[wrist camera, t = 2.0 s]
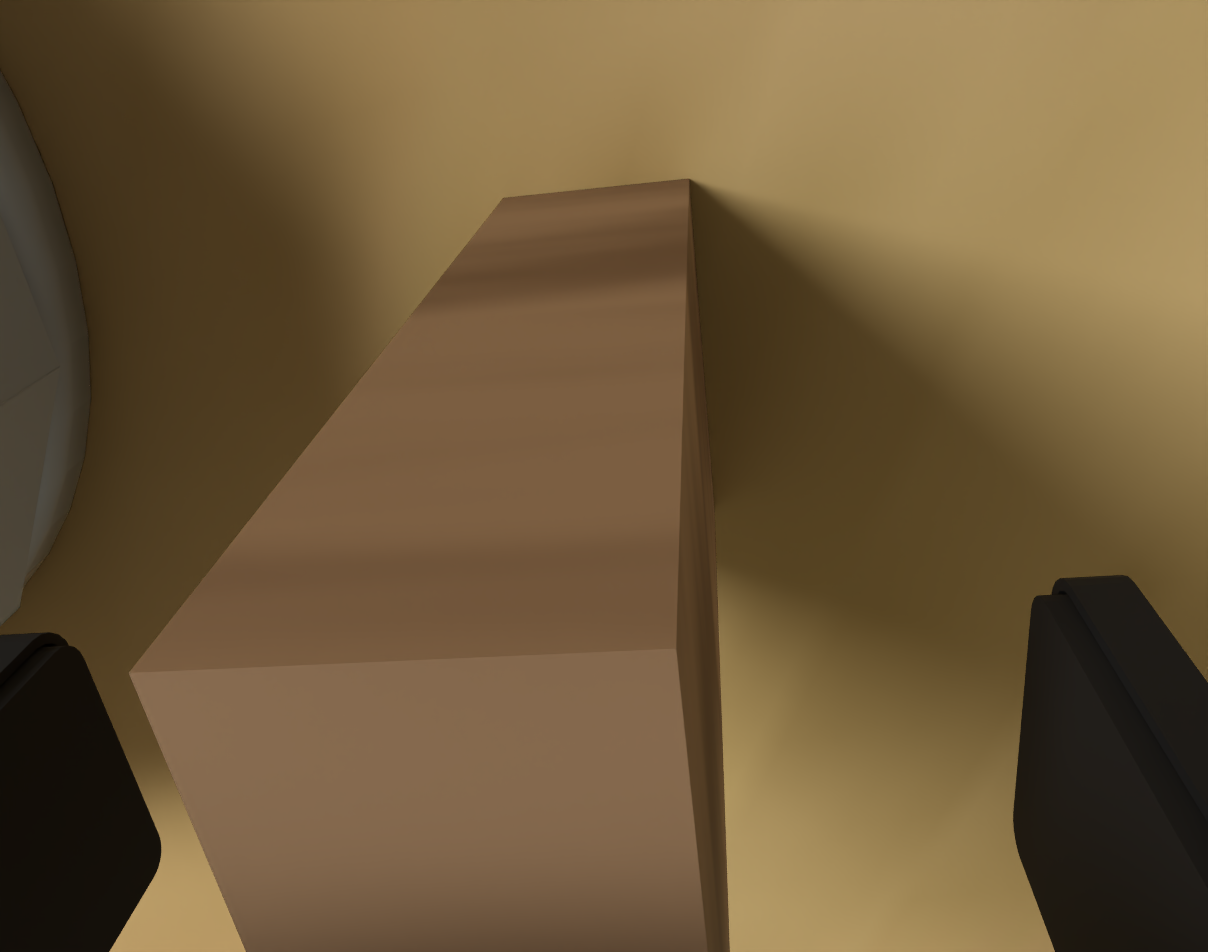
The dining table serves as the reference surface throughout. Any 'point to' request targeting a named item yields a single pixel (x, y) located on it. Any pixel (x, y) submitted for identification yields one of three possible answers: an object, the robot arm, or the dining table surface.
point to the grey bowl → (36, 360)
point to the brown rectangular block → (479, 622)
